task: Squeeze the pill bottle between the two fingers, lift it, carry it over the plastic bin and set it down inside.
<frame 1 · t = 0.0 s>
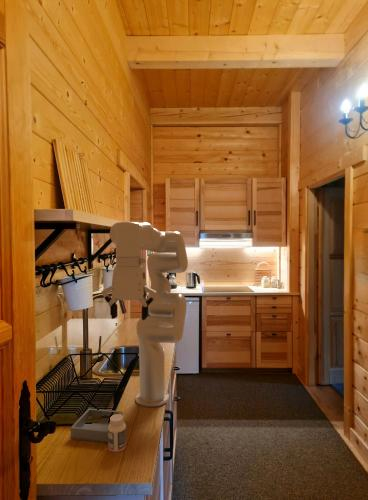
hand: (129, 318, 105), 37 cm above the countertop, tool pointing down, fingers open, 9 cm apart
bin: (97, 430, 109), on the countertop
pill bottle: (117, 447, 101), on the countertop
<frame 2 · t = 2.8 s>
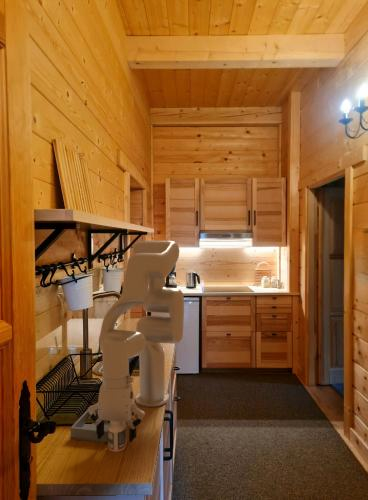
hand: (116, 438, 100), 3 cm above the countertop, tool pointing down, fingers open, 9 cm apart
nothing on the countertop moved.
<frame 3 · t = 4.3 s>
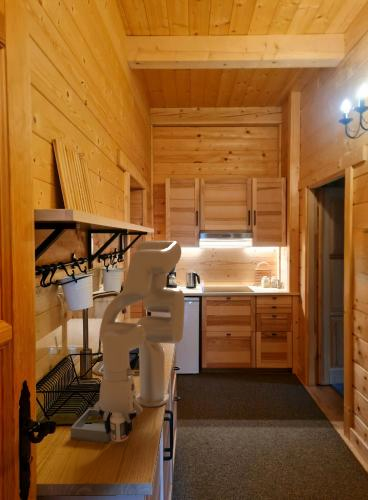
hand: (118, 431, 102), 4 cm above the countertop, tool pointing down, fingers closed on pill bottle, 5 cm apart
pill bottle: (119, 437, 102), point 2 cm above the countertop, touching gripper
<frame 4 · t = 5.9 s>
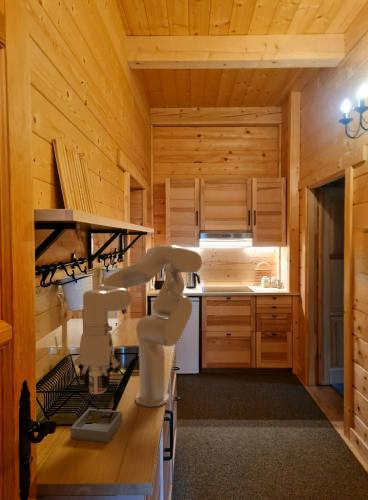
hand: (96, 385, 109), 15 cm above the countertop, tool pointing down, fingers closed on pill bottle, 5 cm apart
pill bottle: (97, 391, 109), point 12 cm above the countertop, touching gripper
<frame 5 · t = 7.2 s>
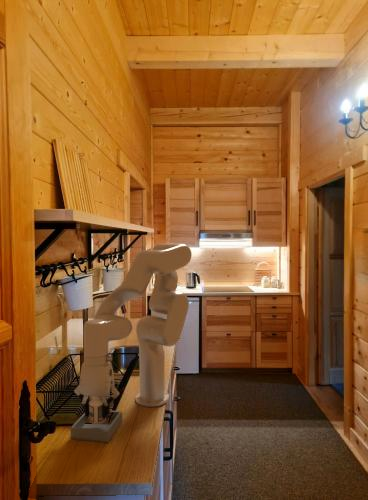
hand: (96, 414, 109), 5 cm above the countertop, tool pointing down, fingers closed on pill bottle, 5 cm apart
pill bottle: (97, 420, 110), point 3 cm above the countertop, touching gripper
when the fingers open (4 cm above the countertop, at t = 8.1 s): pill bottle drops 2 cm, resting on bin.
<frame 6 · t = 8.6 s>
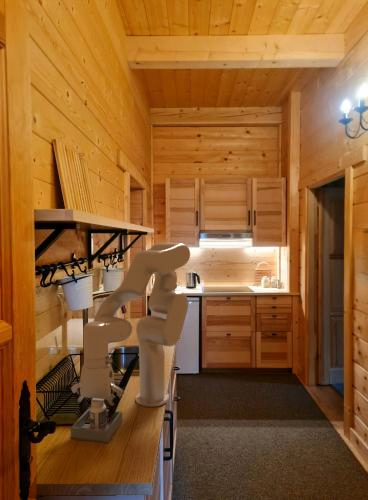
hand: (97, 414, 109), 5 cm above the countertop, tool pointing down, fingers open, 9 cm apart
pill bottle: (98, 427, 110), resting on bin
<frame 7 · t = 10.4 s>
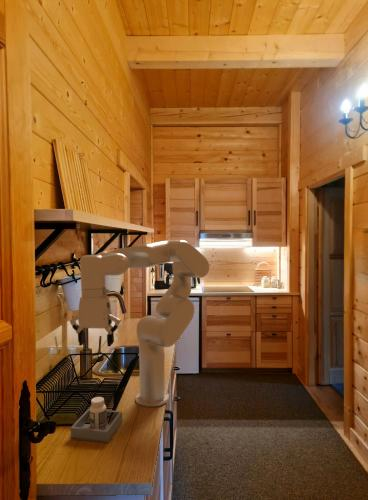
hand: (96, 344, 112), 26 cm above the countertop, tool pointing down, fingers open, 9 cm apart
nothing on the countertop moved.
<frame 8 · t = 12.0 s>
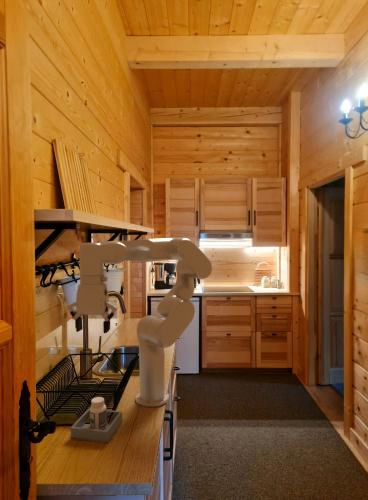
hand: (92, 331, 114), 30 cm above the countertop, tool pointing down, fingers open, 9 cm apart
nothing on the countertop moved.
at the end: pill bottle inside the target area on the bin (0.8 cm from its centre), point 0.4 cm above the bin's base; the gripper is holding nothing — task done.
